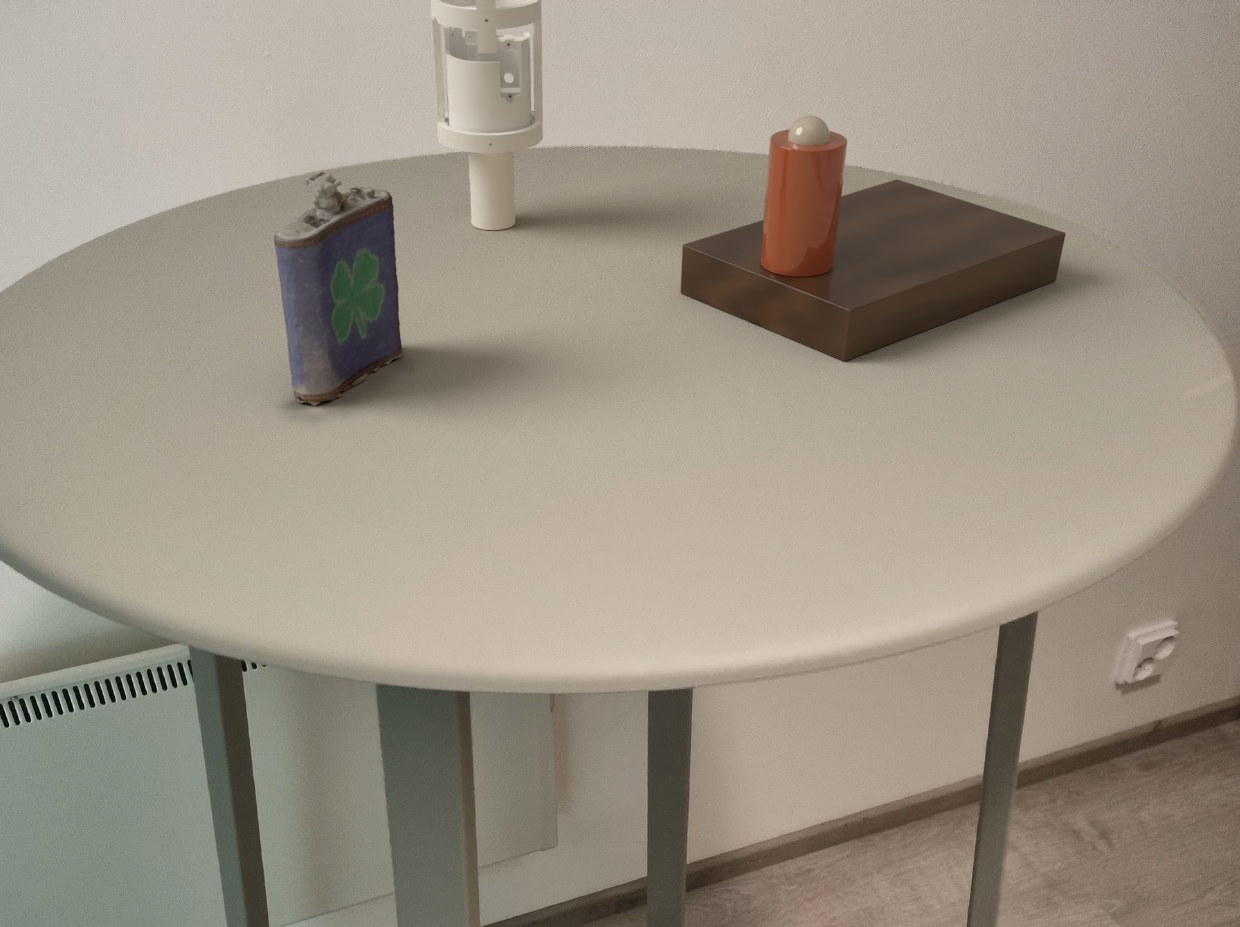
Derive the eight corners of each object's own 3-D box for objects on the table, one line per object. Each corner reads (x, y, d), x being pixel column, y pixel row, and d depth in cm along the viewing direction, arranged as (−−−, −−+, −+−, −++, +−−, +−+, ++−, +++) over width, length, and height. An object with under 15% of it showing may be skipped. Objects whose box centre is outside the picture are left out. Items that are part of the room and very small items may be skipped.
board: (1056, 281, 97) (1066, 232, 95) (844, 362, 87) (850, 310, 85) (890, 224, 105) (896, 179, 103) (679, 293, 95) (682, 244, 93)
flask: (320, 410, 82) (296, 204, 75) (277, 399, 83) (249, 195, 76) (413, 351, 88) (399, 155, 81) (372, 342, 90) (354, 148, 82)
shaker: (848, 266, 90) (866, 117, 85) (797, 283, 88) (812, 132, 83) (795, 246, 93) (809, 101, 88) (744, 262, 91) (755, 115, 85)
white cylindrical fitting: (441, 241, 102) (427, -11, 92) (443, 206, 108) (430, -36, 98) (545, 239, 103) (542, -12, 93) (542, 205, 108) (539, -37, 98)
